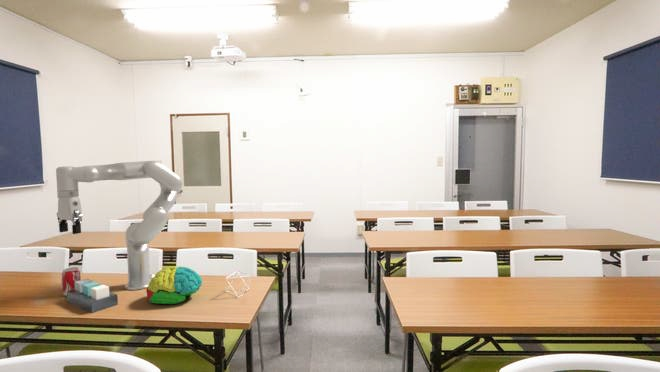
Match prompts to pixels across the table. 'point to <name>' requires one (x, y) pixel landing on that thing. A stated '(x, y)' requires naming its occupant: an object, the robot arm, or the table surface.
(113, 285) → the table surface
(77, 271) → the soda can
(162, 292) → the brain model
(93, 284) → the teal key
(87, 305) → the console
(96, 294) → the ivory key
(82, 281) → the grey key
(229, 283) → the geometric polyhedron
